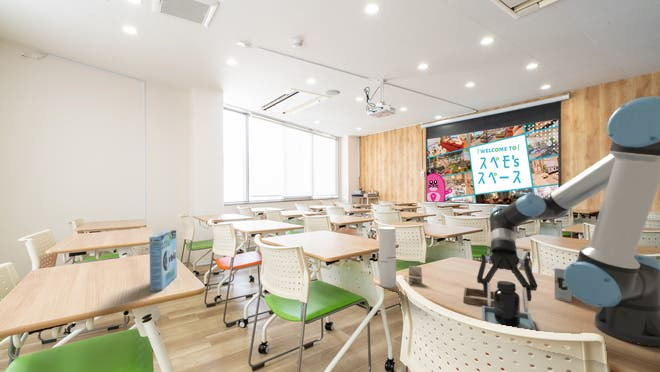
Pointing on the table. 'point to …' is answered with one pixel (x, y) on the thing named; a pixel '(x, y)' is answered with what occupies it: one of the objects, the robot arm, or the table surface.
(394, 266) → the cylindrical container
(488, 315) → the tray
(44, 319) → the table surface
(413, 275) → the architectural model
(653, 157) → the robot arm
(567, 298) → the ink box
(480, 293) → the frame
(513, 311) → the supplement bottle
